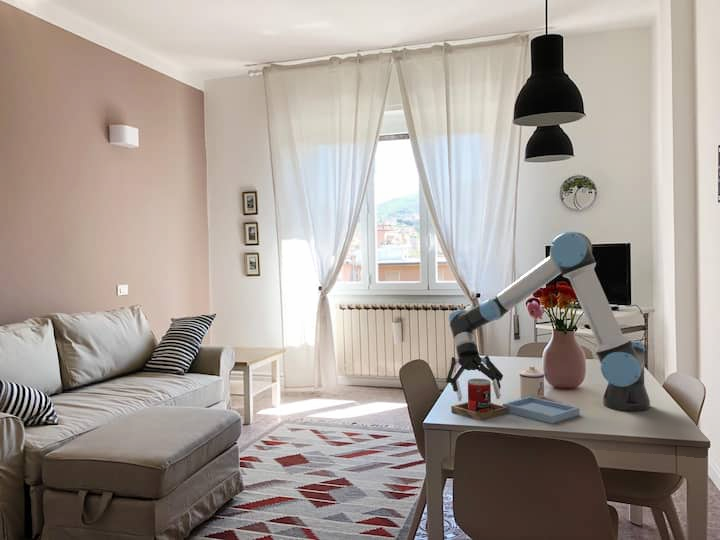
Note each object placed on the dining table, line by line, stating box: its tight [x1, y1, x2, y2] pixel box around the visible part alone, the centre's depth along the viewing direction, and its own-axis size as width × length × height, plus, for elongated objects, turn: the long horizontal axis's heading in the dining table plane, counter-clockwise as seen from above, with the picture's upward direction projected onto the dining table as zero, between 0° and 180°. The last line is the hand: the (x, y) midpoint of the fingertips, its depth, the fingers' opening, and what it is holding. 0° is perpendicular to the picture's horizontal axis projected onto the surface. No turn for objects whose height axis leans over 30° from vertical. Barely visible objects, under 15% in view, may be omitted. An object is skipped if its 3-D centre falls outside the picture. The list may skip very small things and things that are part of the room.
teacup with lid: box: [519, 365, 546, 399], centre depth 224 cm, size 12×9×12 cm
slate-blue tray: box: [502, 397, 580, 424], centre depth 202 cm, size 20×15×2 cm
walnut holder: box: [450, 401, 509, 421], centre depth 204 cm, size 14×14×2 cm
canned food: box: [467, 378, 492, 413], centre depth 204 cm, size 8×8×11 cm
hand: (479, 398), depth 203 cm, fingers open, 13 cm apart
